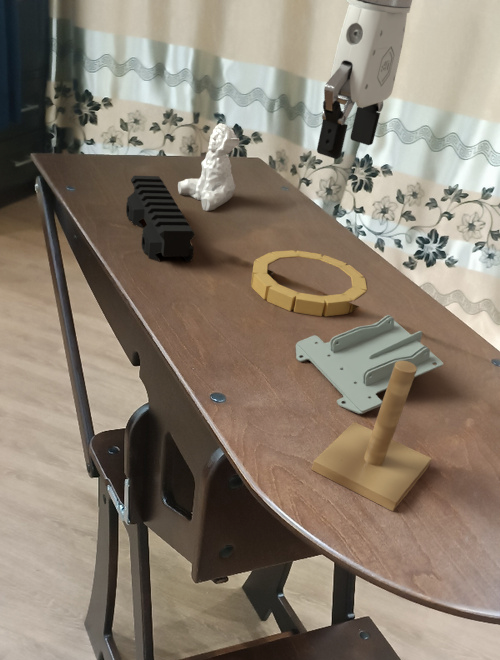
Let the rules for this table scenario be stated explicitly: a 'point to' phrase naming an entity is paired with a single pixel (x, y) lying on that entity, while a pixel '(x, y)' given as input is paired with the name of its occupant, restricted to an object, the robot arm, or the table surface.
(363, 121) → the robot arm
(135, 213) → the rail mount
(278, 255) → the ring
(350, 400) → the metal bracket
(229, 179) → the seated beast figurine
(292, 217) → the table surface
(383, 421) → the peg
